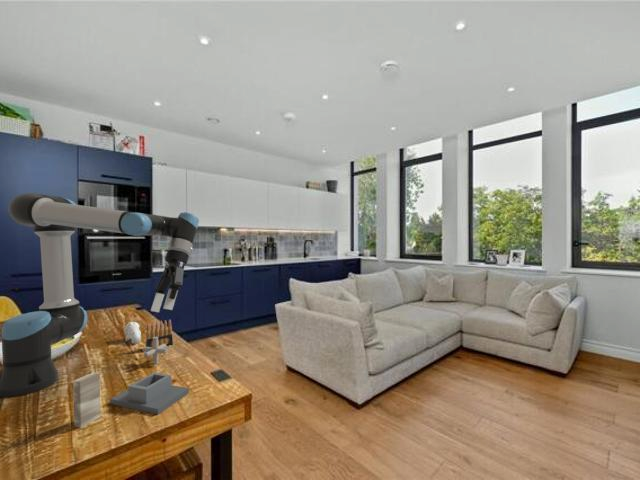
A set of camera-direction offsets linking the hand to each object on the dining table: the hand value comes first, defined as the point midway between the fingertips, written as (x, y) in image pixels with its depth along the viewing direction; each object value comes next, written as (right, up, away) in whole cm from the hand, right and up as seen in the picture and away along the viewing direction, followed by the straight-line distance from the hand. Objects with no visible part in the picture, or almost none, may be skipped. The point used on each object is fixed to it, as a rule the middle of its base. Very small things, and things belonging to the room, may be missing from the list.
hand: (160, 310), depth 103 cm
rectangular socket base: (+3, -24, -10) cm, 27 cm away
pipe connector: (-10, -24, +15) cm, 30 cm away
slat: (-8, -25, -22) cm, 34 cm away
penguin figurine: (-33, -24, +39) cm, 57 cm away
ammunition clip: (-17, -24, +31) cm, 43 cm away
